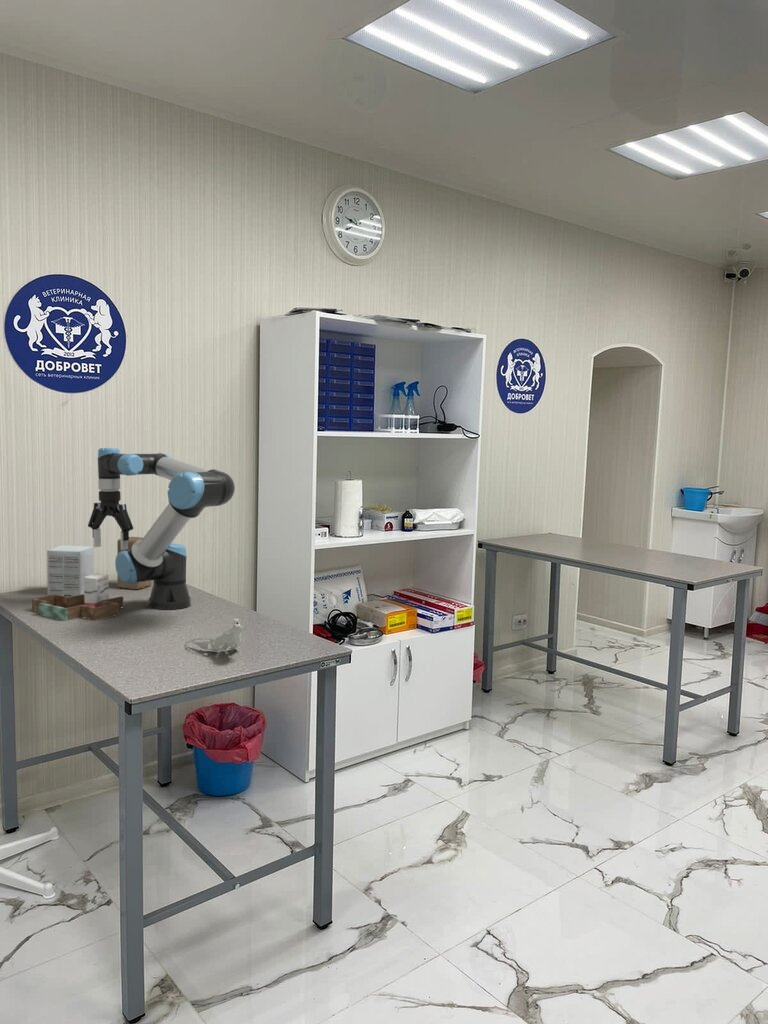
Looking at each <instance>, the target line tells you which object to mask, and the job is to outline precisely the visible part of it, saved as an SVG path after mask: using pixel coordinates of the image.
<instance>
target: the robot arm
mask: <svg viewBox="0 0 768 1024" xmlns="http://www.w3.org/2000/svg"><path fill="white" fill-rule="evenodd" d="M97 474H98V480H97V482H98V486H97V487H98V490H99V491H98V501H99V502H93V509H92V512H91V514H90V518H89V521H88V524H87V527H88V528H90V529H91V530H92V538H93V548H100V547H102V535H101V534H102V532H101V528H100V526H101V525H102V523H103V522H104V520H105V519H106V517H107V516H108V517H112V518H114V520H115V522H117V525H118V527H119V528H120V529H121V531H120V539H121V550H125V549H128V540H129V537H130V535H129V534H130V531H133V530H134V526H133V523H132V521H131V518H130V515H129V512H128V511H127V510H128V509H127V504H126V503H122V504H120V501H121V500H122V499H121V491H120V490H121V475H123V476H138V475H140V476H141V475H155V476H158V477H161V478H164V479H167V480H170V482H169V483H168V489H167V498H168V499H167V500H168V504H167V505H166V507H165V508H164V509H163V511H162V512H161V513H160V515H159V516H158V518H157V519H155V521H154V523H153V525H151V527H150V529H149V530H148V531H147V532H146V534H145V535H144V537H142V538H143V539H142V540H138V541H136V542H135V543H134V544H133V545H132V546H131V548H130V549H129V550H128V551H122V552H119V553H118V552H117V553H116V556H115V563H114V564H115V565H114V566H115V570H116V574H117V577H118V576H119V578H120V579H121V581H123V582H124V583H126V584H131V583H133V584H135V583H139V582H145V581H151V582H152V581H153V584H152V589H151V591H150V597H148V607H149V608H151V609H155V610H177V609H179V610H181V609H185V608H188V607H190V606H191V605H192V603H191V601H192V600H191V599H192V598H191V596H190V593H189V590H188V586H187V557H188V556H187V548H186V546H185V545H183V544H179V543H173V541H174V540H175V539H176V538H177V536H178V535H179V534H180V532H181V531H182V530H183V529H184V528H185V526H186V524H188V522H189V521H190V520H191V519H195V518H198V516H200V514H201V513H202V512H203V511H204V509H205V508H208V507H221V506H222V505H225V504H227V503H228V502H229V501H231V499H232V498H233V497H234V494H235V482H234V480H233V478H232V477H231V476H230V475H229V474H228V473H226V472H223V471H220V470H217V469H208V470H207V469H205V468H202V467H198V466H196V465H193V464H189V463H186V462H184V461H180V460H177V459H173V457H171V455H169V454H167V453H161V452H158V453H121V452H120V449H119V448H118V447H100V448H99V449H98V451H97Z"/></svg>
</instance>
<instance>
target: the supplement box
mask: <svg viewBox="0 0 768 1024" xmlns="http://www.w3.org/2000/svg"><path fill="white" fill-rule="evenodd" d="M46 556H47V557H46V569H47V571H46V573H47V575H46V576H47V585H46V586H47V596H51V595H56V594H57V595H71V596H70V597H72V596H77V595H82V594H84V578H85V577H86V576H89V575H93V574H94V546H92V545H91V546H90V545H87V546H86V545H62V544H61V545H59V546H55V547H53V548H50V549H48V550H47V551H46Z"/></svg>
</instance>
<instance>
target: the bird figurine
mask: <svg viewBox="0 0 768 1024" xmlns="http://www.w3.org/2000/svg"><path fill="white" fill-rule="evenodd" d="M233 621H234V623H233V624H232V627H229V629H227V631H225V632H223V633H222V635H220V636H217V637H215V638H213V637H212V638H206V637H201V638H200V637H198V638H193V639H190V640H189V641H187V642H185V645H188V644H189V643H192V644H194V645H195V646H198V647H199V648H200V649H202V650H204V651H213V652H217V653H220V652H221V651H228V649H229V650H230V651H232V650H234V649H237V648H238V647H240V646H241V643H242V640H241V636H242V634H241V633H243V632H244V631H245V630H247V628H246V627H245V626H244V625H243V626H241V624H240V619H239V618H234V619H233ZM198 640H200V641H201V640H202V642H198ZM203 640H207V641H203ZM209 644H210V647H209Z"/></svg>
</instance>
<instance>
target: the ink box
mask: <svg viewBox="0 0 768 1024" xmlns="http://www.w3.org/2000/svg"><path fill="white" fill-rule="evenodd" d="M107 599H109V574H105V573H103V574H102V573H93V575H89V576H86V577H85V578H84V603H85V604H84V605H86V606H90V607H95V608H97V607H101V601H102V600H107Z"/></svg>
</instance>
